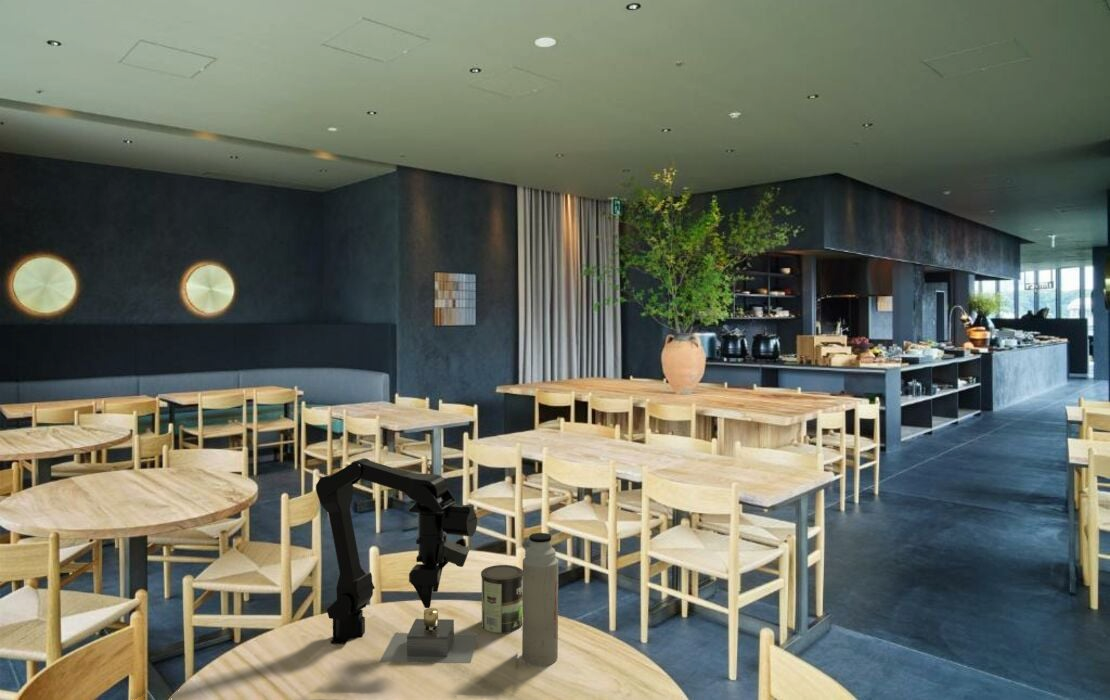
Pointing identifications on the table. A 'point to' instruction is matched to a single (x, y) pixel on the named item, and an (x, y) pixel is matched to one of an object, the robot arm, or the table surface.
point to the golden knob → (431, 617)
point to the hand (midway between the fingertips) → (431, 599)
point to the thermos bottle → (540, 602)
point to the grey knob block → (430, 639)
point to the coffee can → (502, 598)
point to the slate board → (457, 654)
